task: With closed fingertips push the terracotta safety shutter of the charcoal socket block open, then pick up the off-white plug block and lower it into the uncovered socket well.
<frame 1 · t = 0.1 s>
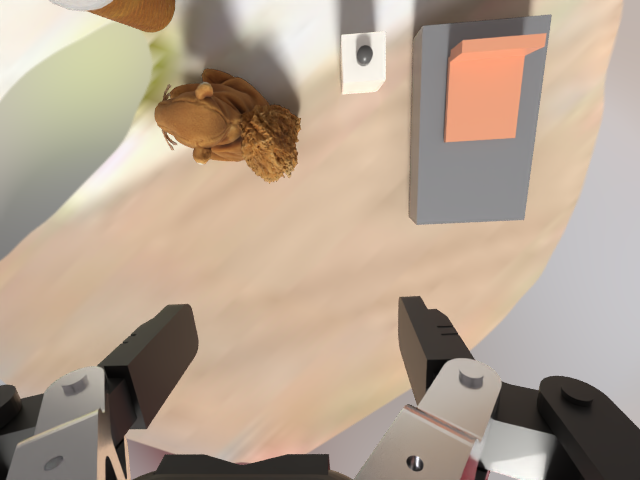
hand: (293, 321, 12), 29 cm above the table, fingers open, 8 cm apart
disposable coffee cup: (148, 0, 34), on the table
stuffed squirrel: (252, 128, 38), on the table
plug: (358, 73, 35), on the table
shutter: (489, 93, 30), point 6 cm above the table, slide at 0.0 cm
socket block: (462, 131, 37), on the table
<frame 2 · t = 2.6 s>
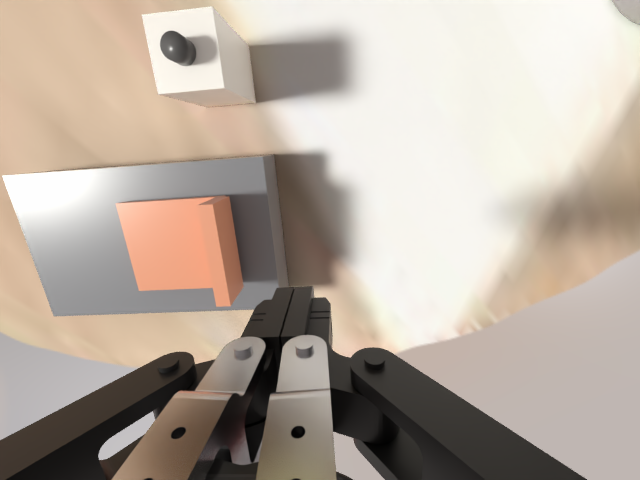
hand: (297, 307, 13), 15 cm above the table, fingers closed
plug: (227, 77, 24), on the table
shutter: (173, 251, 22), point 6 cm above the table, slide at 0.0 cm
socket block: (173, 230, 28), on the table
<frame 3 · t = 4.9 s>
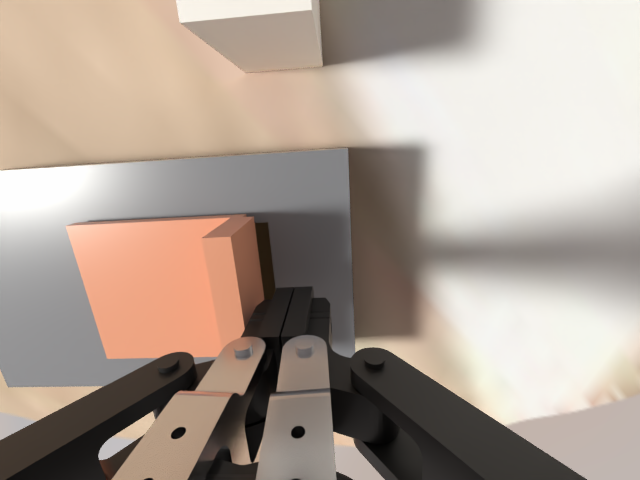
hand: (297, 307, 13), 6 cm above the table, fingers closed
plug: (279, 24, 15), on the table
shutter: (159, 307, 13), point 6 cm above the table, slide at 1.6 cm, touching gripper
socket block: (187, 258, 19), on the table
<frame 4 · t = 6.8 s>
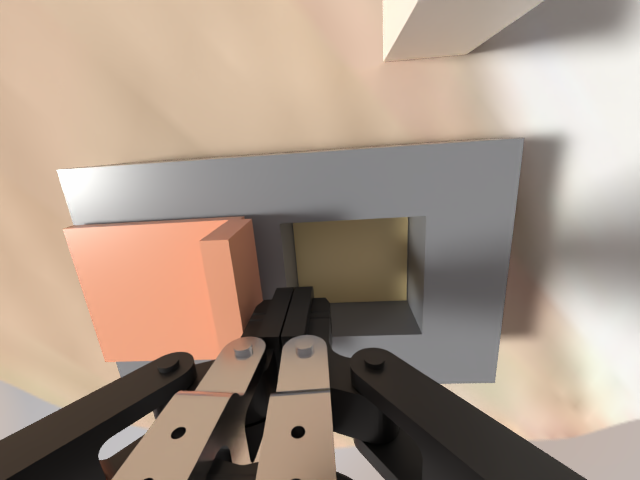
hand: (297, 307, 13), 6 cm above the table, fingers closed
plug: (425, 11, 15), on the table
shutter: (157, 310, 13), point 6 cm above the table, slide at 8.7 cm, touching gripper
socket block: (300, 255, 19), on the table
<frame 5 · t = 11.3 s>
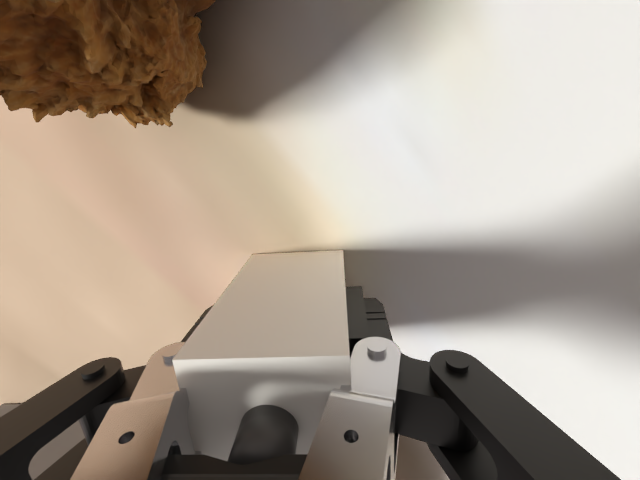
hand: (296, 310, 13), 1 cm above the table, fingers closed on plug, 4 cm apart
plug: (301, 293, 14), on the table, touching gripper
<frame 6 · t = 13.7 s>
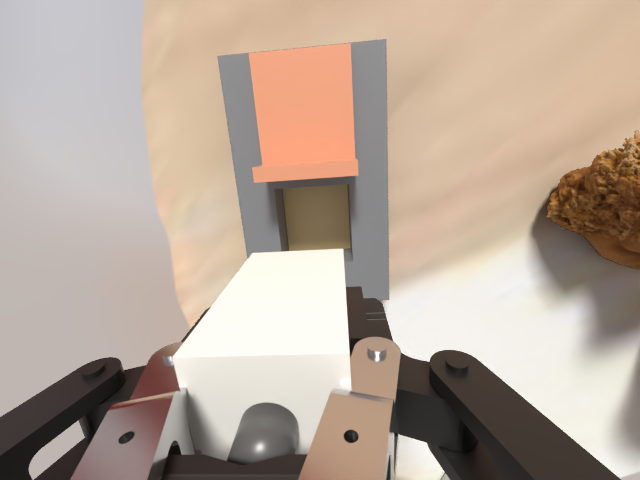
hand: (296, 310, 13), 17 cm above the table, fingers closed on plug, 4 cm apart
stuffed squirrel: (602, 200, 28), on the table
plug: (301, 292, 14), point 16 cm above the table, touching gripper
shutter: (302, 113, 21), point 6 cm above the table, slide at 8.7 cm
socket block: (315, 184, 29), on the table
when the fingers open (4 cm above the table, at t = 16.5 s): plug drops 2 cm, resting on socket block.
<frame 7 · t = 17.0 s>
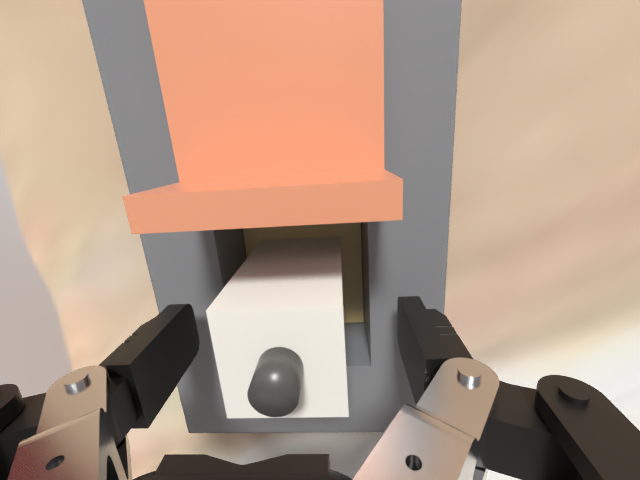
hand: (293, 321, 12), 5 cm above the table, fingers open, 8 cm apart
plug: (303, 274, 16), point 1 cm above the table, touching socket block
shutter: (259, 58, 8), point 6 cm above the table, slide at 8.7 cm
socket block: (301, 210, 16), on the table
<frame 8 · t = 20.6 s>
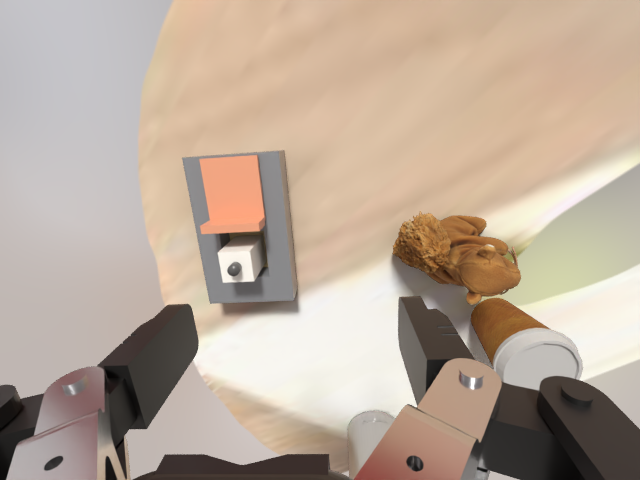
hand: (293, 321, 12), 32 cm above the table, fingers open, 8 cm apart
disposable coffee cup: (491, 315, 47), on the table
stuffed squirrel: (434, 241, 44), on the table
plug: (251, 248, 45), point 1 cm above the table, touching socket block
shutter: (229, 194, 37), point 6 cm above the table, slide at 8.7 cm
socket block: (249, 225, 44), on the table
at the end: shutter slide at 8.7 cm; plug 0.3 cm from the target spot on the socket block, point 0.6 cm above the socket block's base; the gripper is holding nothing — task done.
